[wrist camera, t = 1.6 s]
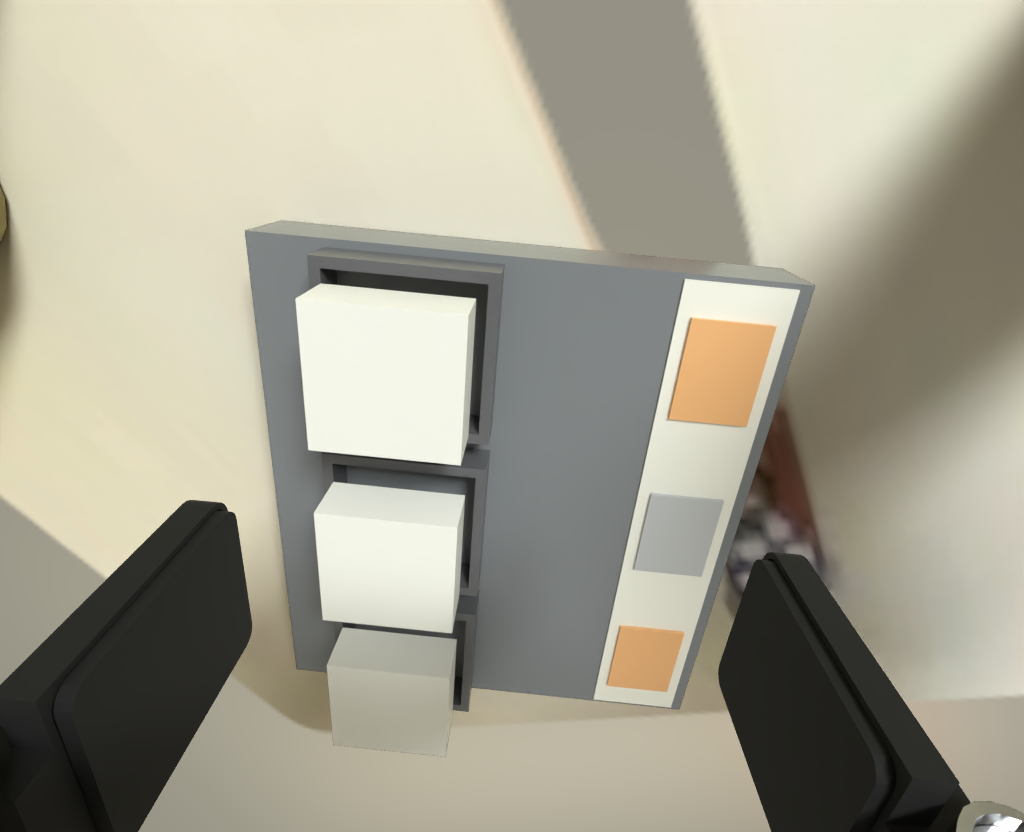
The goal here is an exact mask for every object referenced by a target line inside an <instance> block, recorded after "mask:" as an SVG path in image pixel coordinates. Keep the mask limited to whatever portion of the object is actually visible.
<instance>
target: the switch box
mask: <svg viewBox="0 0 1024 832" xmlns="http://www.w3.org/2000/svg"><path fill="white" fill-rule="evenodd" d="M245 237H246V246H247V254H248V262H249V271H250V279H251V288H252V296H253V305H254V313H255V322H256V330H257V338H258V347H259V355H260V364H261V372H262V381H263V389H264V397H265V406H266V414H267V423H268V431H269V440H270V448H271V457H272V465H273V473H274V482H275V490H276V499H277V507H278V516H279V524H280V532H281V541H282V549H283V558H284V566H285V575H286V583H287V592H288V600H289V608H290V617H291V625H292V634H293V642H294V651H295V659H296V667H297V669H300V670H310V671H319V672H327V664H328V661H329V659H330V656H331V654H332V652H333V649H334V647H335V645H336V642H337V640H338V638H339V635H340V633H341V630H342V628H343V627H344V628H353V629H363V630H372V631H382V632H391V633H401V634H410V635H420V636H430V637H439V638H449V639H457V644H456V661H455V678H454V696H453V710H457V711H466V712H468V711H469V704H470V696H471V689H472V688H480V689H490V690H499V691H508V692H518V693H527V694H537V695H546V696H556V697H565V698H575V699H584V700H594V701H603V702H613V703H622V704H632V705H641V706H651V707H660V708H669V709H680V706H681V703H682V699H683V696H684V693H685V690H686V687H687V684H688V681H689V678H690V674H691V671H692V668H693V665H694V662H695V659H696V656H697V653H698V650H699V646H700V643H701V640H702V637H703V634H704V631H705V628H706V625H707V622H708V618H709V615H710V612H711V609H712V606H713V603H714V600H715V597H716V593H717V590H718V587H719V584H720V581H721V578H722V575H723V572H724V569H725V565H726V562H727V559H728V556H729V553H730V550H731V547H732V544H733V540H734V537H735V534H736V531H737V528H738V525H739V522H740V519H741V516H742V512H743V509H744V506H745V503H746V500H747V497H748V494H749V491H750V488H751V484H752V481H753V478H754V475H755V472H756V469H757V466H758V463H759V459H760V456H761V453H762V450H763V447H764V444H765V441H766V438H767V435H768V431H769V428H770V425H771V422H772V419H773V416H774V413H775V410H776V406H777V403H778V400H779V397H780V394H781V391H782V388H783V385H784V382H785V378H786V375H787V372H788V369H789V366H790V363H791V360H792V357H793V353H794V350H795V347H796V344H797V341H798V338H799V335H800V332H801V329H802V325H803V322H804V319H805V316H806V313H807V310H808V307H809V304H810V301H811V297H812V294H813V291H814V288H815V285H813V284H811V283H809V282H807V281H806V280H804V279H802V278H800V277H798V276H796V275H794V274H792V273H790V272H788V271H786V270H784V269H780V268H770V267H759V266H749V265H738V264H728V263H717V262H708V261H697V260H687V259H676V258H666V257H655V256H644V255H635V254H624V253H614V252H604V251H593V250H583V249H572V248H562V247H552V246H541V245H531V244H520V243H510V242H500V241H489V240H479V239H468V238H458V237H448V236H437V235H427V234H416V233H406V232H396V231H385V230H375V229H365V228H354V227H344V226H333V225H323V224H313V223H302V222H292V221H277V222H274V223H270V224H266V225H263V226H259V227H255V228H252V229H248V230H245ZM319 284H332V285H342V286H352V287H362V288H373V289H383V290H393V291H403V292H414V293H424V294H434V295H444V296H455V297H465V298H475V299H476V312H475V330H474V347H473V365H472V382H471V400H470V417H469V434H468V440H467V444H466V448H465V451H464V455H463V459H462V463H461V466H460V465H450V464H441V463H431V462H421V461H411V460H401V459H391V458H381V457H371V456H361V455H351V454H341V453H332V452H322V451H312V450H308V441H307V429H306V417H305V406H304V394H303V382H302V370H301V359H300V347H299V335H298V323H297V312H296V300H295V299H296V298H297V297H299V296H301V295H302V294H304V293H306V292H307V291H309V290H311V289H312V288H314V287H316V286H317V285H319ZM333 482H338V483H348V484H358V485H368V486H378V487H388V488H398V489H407V490H417V491H427V492H437V493H447V494H457V495H465V504H464V522H463V539H462V556H461V574H460V591H459V600H458V605H457V610H456V615H455V621H454V626H453V631H452V633H443V632H433V631H424V630H414V629H404V628H395V627H385V626H376V625H366V624H357V623H347V622H337V621H328V620H323V617H322V606H321V594H320V582H319V570H318V559H317V547H316V535H315V523H314V512H315V510H316V509H317V507H318V505H319V504H320V502H321V501H322V499H323V498H324V496H325V494H326V493H327V491H328V490H329V488H330V487H331V485H332V483H333Z"/></svg>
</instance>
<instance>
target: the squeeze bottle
mask: <svg viewBox="0 0 1024 832" xmlns="http://www.w3.org/2000/svg"><path fill="white" fill-rule="evenodd" d="M6 227H7V222H6V207H5V197H4V195H3V192H2V190H1V188H0V241H1V239H2V237H3V234H4V232H5V230H6Z"/></svg>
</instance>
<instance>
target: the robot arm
mask: <svg viewBox="0 0 1024 832" xmlns="http://www.w3.org/2000/svg"><path fill="white" fill-rule="evenodd" d="M251 631H252V620H251V613H250V606H249V600H248V593H247V586H246V580H245V573H244V566H243V559H242V553H241V546H240V539H239V533H238V526H237V519H236V516H235V514H234V513H233V512H228V510H227V507H226V506H225V504H223V503H219V502H208V501H196V500H189V501H186V502H185V503H183V504H182V505H181V506H180V507H179V508H178V509H177V510H176V511H175V512H174V513H173V514H172V515H171V516H170V517H169V518H168V519H167V520H166V521H165V522H164V523H163V524H162V525H161V526H160V527H159V528H158V529H157V530H156V531H155V532H154V533H153V534H152V535H151V536H150V537H149V538H148V539H147V540H146V541H145V542H144V543H143V544H142V545H141V546H140V547H139V548H138V549H137V550H136V551H135V552H134V553H133V554H132V555H131V556H130V557H129V558H128V559H127V560H126V561H125V562H124V563H123V564H122V565H121V566H120V567H119V568H118V569H117V570H116V571H115V572H114V573H113V574H112V575H111V576H110V577H109V578H108V579H107V580H106V581H105V582H104V583H103V584H102V585H101V586H100V587H99V588H98V589H97V590H95V592H93V593H92V594H91V596H89V597H88V599H86V600H85V601H84V602H83V604H81V605H80V607H79V608H77V609H76V610H75V611H74V612H73V613H72V614H71V615H70V616H69V618H67V619H66V620H65V621H64V622H63V623H62V624H61V625H60V626H59V627H58V628H57V629H56V630H55V631H54V632H53V633H52V634H51V635H50V636H49V637H48V638H47V639H46V640H45V641H44V642H43V643H42V644H41V645H40V646H39V647H38V648H37V649H36V650H35V651H34V652H33V653H32V654H31V655H30V656H29V657H28V658H27V659H26V660H25V661H24V662H23V663H22V664H21V665H20V666H19V667H18V668H17V669H16V670H15V671H14V672H13V673H12V674H11V675H10V676H9V677H8V678H7V679H6V680H5V681H4V682H3V683H2V684H1V685H0V832H138V831H139V829H140V827H141V825H142V824H143V822H144V821H145V818H146V817H147V815H148V814H149V812H150V810H151V809H152V807H153V805H154V803H155V802H156V800H157V798H158V796H159V795H160V793H161V791H162V790H163V788H164V786H165V785H166V783H167V781H168V779H169V777H170V776H171V774H172V773H173V771H174V769H175V767H176V766H177V764H178V762H179V761H180V759H181V757H182V756H183V754H184V752H185V750H186V749H187V747H188V745H189V743H190V742H191V740H192V738H193V737H194V735H195V733H196V732H197V730H198V728H199V726H200V725H201V723H202V721H203V720H204V718H205V716H206V714H207V713H208V711H209V709H210V707H211V706H212V704H213V702H214V701H215V699H216V697H217V696H218V694H219V692H220V690H221V689H222V687H223V685H224V684H225V682H226V680H227V678H228V677H229V675H230V673H231V672H232V670H233V668H234V667H235V665H236V663H237V661H238V660H239V658H240V656H241V655H242V653H243V651H244V649H245V648H246V646H247V644H248V642H249V639H250V636H251ZM718 675H719V684H720V688H721V691H722V693H723V696H724V699H725V702H726V705H727V708H728V710H729V713H730V716H731V718H732V722H733V724H734V727H735V730H736V733H737V736H738V738H739V741H740V744H741V747H742V750H743V753H744V756H745V758H746V761H747V764H748V767H749V769H750V772H751V775H752V778H753V781H754V783H755V786H756V789H757V792H758V795H759V798H760V801H761V803H762V806H763V809H764V812H765V815H766V817H767V820H768V823H769V826H770V829H771V832H1024V813H1022V812H1020V811H1018V810H1016V809H1014V808H1011V807H1009V806H1005V805H1002V804H999V803H995V802H992V801H974V802H972V803H970V801H969V799H968V798H967V796H966V795H965V794H964V792H963V791H962V789H961V788H960V786H959V781H958V780H957V779H956V777H955V775H954V774H953V772H952V771H951V770H950V768H949V767H948V765H947V764H946V762H945V761H944V759H943V758H942V756H941V755H940V753H939V752H938V750H937V749H936V748H935V746H934V745H933V743H932V742H931V740H930V739H929V737H928V736H927V734H926V733H925V731H924V730H923V728H922V727H921V726H920V724H919V723H918V721H917V720H916V718H915V717H914V716H913V714H912V712H911V711H910V709H909V708H908V707H907V705H906V704H905V702H904V701H903V699H902V698H901V696H900V695H899V693H898V692H897V690H896V689H895V687H894V686H893V685H892V683H891V682H890V680H889V679H888V677H887V676H886V674H885V673H884V671H883V670H882V668H881V667H880V665H879V664H878V663H877V661H876V660H875V658H874V657H873V655H872V654H871V652H870V651H869V649H868V648H867V646H866V645H865V643H864V642H863V641H862V639H861V638H860V636H859V635H858V633H857V632H856V630H855V629H854V627H853V626H852V624H851V623H850V621H849V620H848V619H847V617H846V616H845V614H844V613H843V611H842V610H841V608H840V607H839V605H838V604H837V602H836V601H835V599H834V598H833V597H832V595H831V594H830V592H829V591H828V589H827V588H826V586H825V585H824V583H823V582H822V580H821V579H820V577H819V576H818V575H817V573H816V572H815V570H814V569H813V567H812V566H811V564H810V563H809V561H808V560H807V559H806V558H805V557H804V556H802V555H795V554H784V553H773V552H770V553H767V554H766V555H765V556H764V558H763V560H756V561H755V562H754V564H753V567H752V570H751V573H750V576H749V579H748V582H747V585H746V588H745V591H744V593H743V596H742V599H741V602H740V605H739V608H738V611H737V614H736V617H735V620H734V623H733V626H732V629H731V632H730V635H729V638H728V641H727V644H726V647H725V650H724V653H723V656H722V659H721V662H720V665H719V672H718Z"/></svg>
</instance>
